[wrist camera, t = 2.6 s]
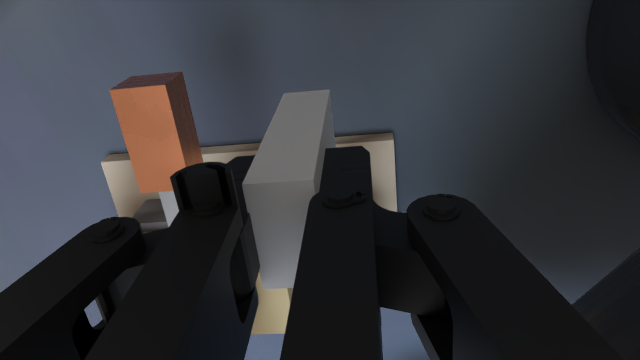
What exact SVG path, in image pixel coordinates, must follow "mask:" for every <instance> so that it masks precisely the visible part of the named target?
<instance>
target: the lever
mask: <svg viewBox="0 0 640 360" xmlns="http://www.w3.org/2000/svg"><path fill="white" fill-rule="evenodd" d="M110 94H111V97H112V100H113V104H114V107H115V110H116V114H117V117H118V120H119V123H120V127H121V130H122V133H123V137H124V140H125V143H126V146H127V150H128V153H129V156H130V160H131V163H132V166H133V170H134V173H135V176H136V179H137V183H138V186H139V189H140V193H151V192H159V195H160V199H161V202H162V206H163V209H164V213H165V216H166V220H167V223H168V227H169V226H170V225H171V223H172V221H173V220H174V218H175V217H176V215H177V214H178V212H179V209H178V206H177V202H176V198H175V195H174V191H173V187H172V183H171V180H170V176H172V175H173V174H174V173H175V172H176V171H179V170H181V169H183V168H185V167H187V166H191V165H194V164H197V163H204V162H203V158H202V154H201V149H200V145H199V141H198V137H197V132H196V128H195V124H194V119H193V115H192V111H191V107H190V102H189V98H188V94H187V90H186V85H185V81H184V77H183V72H174V73H164V74H154V75H143V76H133V77H130V78H128V79H127V80H125V81H123V82H122V83H120V84H118V85H117V86H115V87H114V88H112V89H110Z"/></svg>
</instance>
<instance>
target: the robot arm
mask: <svg viewBox="0 0 640 360" xmlns="http://www.w3.org/2000/svg"><path fill="white" fill-rule="evenodd" d="M587 61H588V67H589V73H590V77H591V80H592V83H593V86H594V89H595V91H596V93H597V96H598V98H599V99H600V101H601V103H602V105H603V106H604V107H605V109H606V110H607V112H608V113H609V114H610V115H611V116H612V117H613V119H614V120H615V121H616V122H618V123H619V124H620V125H621V126H622V127H623V128H625V129H626V130H627V131H629V132H630V133H631V134H633V135H634V136H635V137H637V138H638V139H640V0H594V3H593V6H592V10H591V14H590V19H589V25H588V32H587ZM170 180H171V183H172V187H173V191H174V195H175V198H176V202H177V206H178V209H179V212H178V214H177V215H176V217H175V218H174V220H173V221H172V223H171V225H170V226H169V227H168V228H165V229H161V230H156V231H152V232H148V233H143V231H142V228H141V225H140V223H139V222H138V221H137V220H136V219H135V218H130V217H111V218H110V219H109V218H107V219H103V220H101V221H100V222H98V223H95V224H93V225H91V226H89V227H88V228H86V229H84V230H83V231H81V232H80V233H79V234H77V235H76V236H75V237H73V238H72V239H71V240H69V241H68V242H67V243H65V244H64V245H63V246H61V247H60V248H59V249H57V250H56V251H55V252H54V253H52V254H51V255H50V256H48V257H47V258H46V259H44V260H43V261H42V262H40V263H39V264H38V265H36V266H35V267H34V268H32V269H31V270H30V271H29V272H27V273H26V274H25V275H23V276H22V277H21V278H19V279H18V280H17V281H15V282H14V283H13V284H11V285H10V286H9V287H7V288H6V289H5V290H4V291H2V292H1V293H0V360H244V358H245V354H246V350H247V346H248V342H249V339H250V335H251V331H252V327H253V323H254V320H255V316H256V312H257V308H258V304H259V300H258V293H257V288H256V280H257V277H258V273H259V272H260V277H261V282H262V286H263V289H280V288H293V292H292V298H291V303H290V308H289V314H288V319H287V325H286V330H285V335H284V341H283V346H282V351H281V357H280V360H383V352H382V334H381V312H380V307H383V308H388V309H393V310H398V311H403V312H408V313H411V318H412V323H413V325H414V327H415V329H416V331H417V333H418V336H419V338H420V340H421V342H422V344H423V346H424V348H425V350H426V352H427V354H428V356H429V358H430V360H640V248H639V249H638V250H637V251H636V252H634V253H633V254H632V255H631V256H630V257H628V258H627V259H626V260H625V261H624V262H622V263H621V264H620V265H619V266H618V267H616V268H615V269H614V270H613V271H612V272H610V273H609V274H608V275H607V276H606V277H604V278H603V279H602V280H601V281H600V282H598V283H597V284H596V285H595V286H594V287H592V288H591V289H590V290H589V291H588V292H586V293H585V294H584V295H583V296H582V297H580V298H579V299H578V300H577V301H576V302H574V303H573V304H572V305H571V304H570V303H569V302H568V301H567V300H566V299H565V298H564V297H563V296H562V295H561V294H560V293H559V292H558V291H557V290H556V289H555V288H554V287H553V286H552V285H551V284H550V283H549V281H548V280H547V279H546V278H545V277H544V276H543V275H542V274H541V273H540V272H539V271H538V270H537V269H536V268H535V267H534V266H533V265H532V264H531V263H530V262H529V261H528V260H527V259H526V258H525V257H524V256H523V255H522V254H521V253H520V251H519V250H518V249H517V248H516V247H515V246H514V245H513V244H512V243H511V242H510V241H509V240H508V239H507V238H506V237H505V236H504V235H503V234H502V233H501V232H500V231H499V230H498V229H497V228H496V227H495V226H494V225H493V224H492V223H491V222H490V220H489V219H488V218H487V217H486V216H485V215H484V214H483V213H482V212H481V211H480V210H479V209H478V208H477V207H476V206H475V205H474V204H472V203H471V202H469V201H468V200H466V199H464V198H461V197H457V196H454V195H449V194H447V195H445V194H437V195H429V196H426V197H422V198H419V199H417V200H415V201H414V202H412V203H411V204H410V205H409V207H408V209H407V213H400V212H395V211H390V210H387V209H385V208H382V207H381V206H379V205H377V203H376V202H375V201H374V200H373V189H372V175H371V161H370V152H369V151H368V150H366V149H365V148H364V147H363V146H350V147H337V148H336V146H335V136H334V127H333V117H332V108H331V98H330V89H327V90H316V91H305V92H294V93H284V94H283V97H282V99H281V101H280V103H279V105H278V107H277V110H276V112H275V114H274V116H273V118H272V120H271V123H270V125H269V127H268V129H267V131H266V133H265V136H264V138H263V140H262V142H261V144H260V146H259V149H258V151H257V153H256V155H251V156H238V157H235V158H233V159H232V160H231V161H229V162H228V163H222V162H204V163H197V164H194V165H191V166H187V167H185V168H183V169H181V170H179V171H176V172H175V173H174V174H173V175H172V176H170ZM94 299H95V300H96V303H97V305H98V308H99V310H100V313H101V315H102V318H103V319H102V321H101V322H100V323H99V324H97V325H96V326H94V327H92V326H91V325H90V323H89V321H88V318H87V316H86V313H85V311H84V309H85V308H86V307H87V306H88V305H89V304H90V303H91V302H92V301H93V300H94Z"/></svg>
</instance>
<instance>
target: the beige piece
mask: <svg viewBox="0 0 640 360" xmlns="http://www.w3.org/2000/svg"><path fill="white" fill-rule="evenodd" d="M260 144H261V143H252V144H239V145H226V146H213V147H200V149H201V154H202V158H203V162H222V163H228V162H229V161H231V160H232V159H233V158H235V157H238V156H251V155H256V153H257V151H258V149H259V146H260ZM335 146H336V148H337V147H350V146H363V147H364V148H365V149H366V150H368V151H369V152H370V161H371V175H372V189H373V200H374V201H375V202H376V203H377V205H379V206H381V207H382V208H385V209H387V210H390V211H395V212H397V197H396V176H395V156H394V139H393V133H381V134H368V135H355V136H342V137H335ZM101 165H102V168H103V171H104V174H105V177H106V180H107V183H108V186H109V189H110V192H111V195H112V198H113V201H114V204H115V207H116V210H117V213H118V216H119V217H130V218H135V219H136V220H137V221H138V222H139V223H140V225H141V228H142V231H143V233H148V232H152V231H156V230H161V229H165V228H168V223H167V220H166V216H165V213H164V209H163V206H162V202H161V199H160V195H159V192H151V193H140V189H139V186H138V183H137V179H136V176H135V173H134V170H133V166H132V163H131V160H130V156H129V153H123V154H110V155H108V156H107V157H106V158H105V159H104V160H103V161H102V162H101ZM256 288H257V293H258V300H259V304H258V308H257V312H256V316H255V320H254V323H253V327H252V331H251V334H280V333H285V330H286V325H287V319H288V314H289V308H290V303H291V298H292V292H293V288H280V289H263V286H262V282H261V277H260V272H259V273H258V277H257V280H256Z"/></svg>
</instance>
